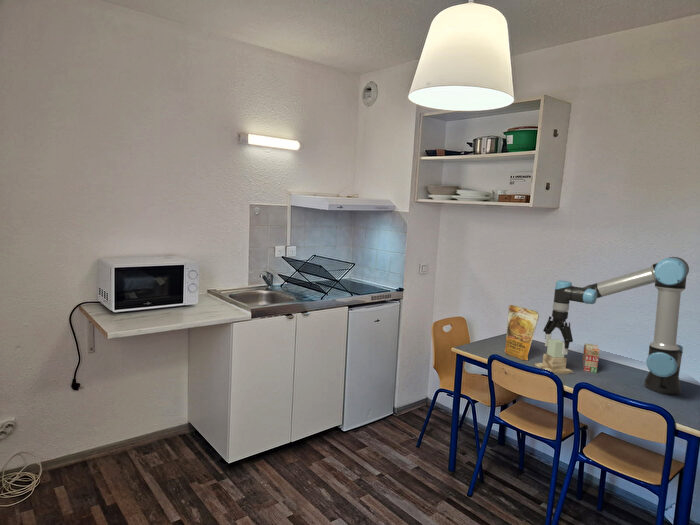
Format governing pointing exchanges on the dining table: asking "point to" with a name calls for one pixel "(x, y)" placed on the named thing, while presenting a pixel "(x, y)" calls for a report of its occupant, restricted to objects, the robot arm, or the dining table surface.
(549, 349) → the sage block
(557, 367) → the tower base
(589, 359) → the printed food box
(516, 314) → the pancake mix bag
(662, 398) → the dining table surface
